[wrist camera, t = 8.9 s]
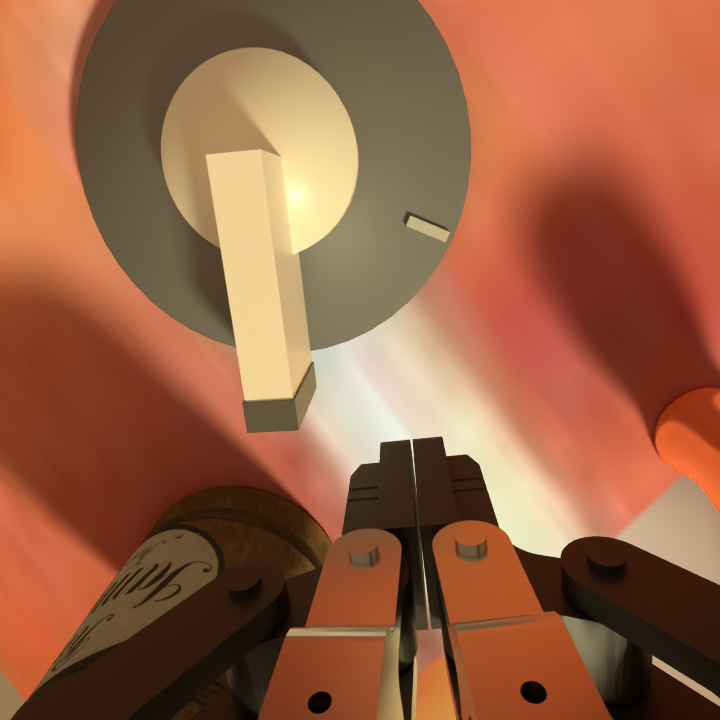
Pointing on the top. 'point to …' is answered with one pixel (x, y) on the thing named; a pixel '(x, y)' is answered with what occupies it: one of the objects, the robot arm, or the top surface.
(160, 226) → the dial base
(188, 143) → the dial lever
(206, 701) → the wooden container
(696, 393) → the beer glass
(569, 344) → the top surface
